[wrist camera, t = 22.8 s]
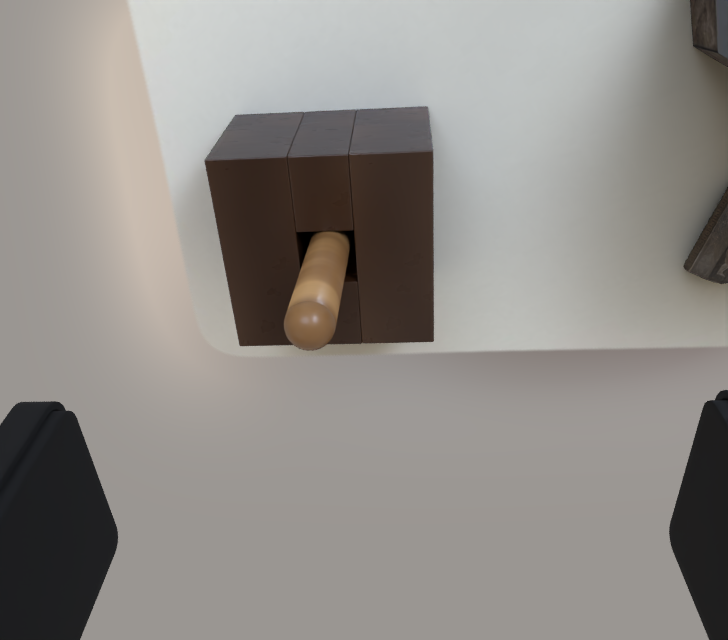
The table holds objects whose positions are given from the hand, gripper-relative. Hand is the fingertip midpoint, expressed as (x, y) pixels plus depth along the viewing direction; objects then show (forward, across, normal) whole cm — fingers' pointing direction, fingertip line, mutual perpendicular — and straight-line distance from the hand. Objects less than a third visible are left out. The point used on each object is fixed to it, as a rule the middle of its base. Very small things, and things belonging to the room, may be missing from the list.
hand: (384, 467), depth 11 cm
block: (+29, -19, +10) cm, 37 cm away
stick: (+29, +3, +9) cm, 31 cm away
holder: (+29, +3, +8) cm, 31 cm away
